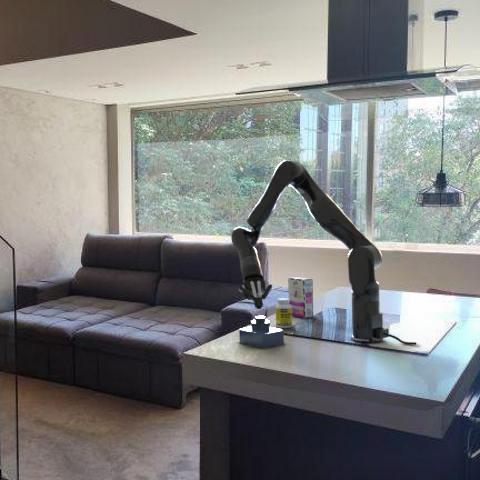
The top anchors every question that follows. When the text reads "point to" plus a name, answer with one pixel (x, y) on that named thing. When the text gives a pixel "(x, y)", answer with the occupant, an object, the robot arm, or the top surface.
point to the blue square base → (261, 335)
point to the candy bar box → (301, 296)
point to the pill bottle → (283, 313)
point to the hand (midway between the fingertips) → (259, 307)
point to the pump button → (260, 319)
